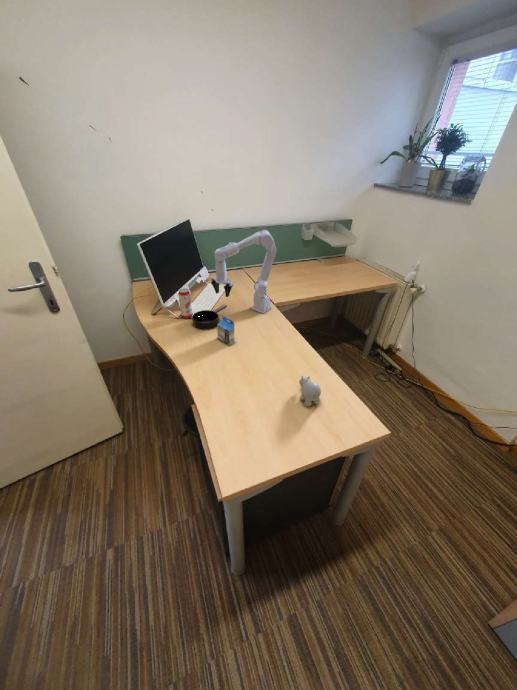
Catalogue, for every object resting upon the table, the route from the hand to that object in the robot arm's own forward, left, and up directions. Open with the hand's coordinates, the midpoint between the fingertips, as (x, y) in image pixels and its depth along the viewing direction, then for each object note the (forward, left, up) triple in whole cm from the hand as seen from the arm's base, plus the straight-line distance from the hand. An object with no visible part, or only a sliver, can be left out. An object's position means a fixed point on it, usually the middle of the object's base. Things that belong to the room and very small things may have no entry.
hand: (222, 294), depth 157 cm
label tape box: (-22, +24, -10) cm, 34 cm away
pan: (-2, +12, -10) cm, 16 cm away
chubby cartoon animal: (-72, +34, -10) cm, 80 cm away
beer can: (+11, +18, -10) cm, 24 cm away
